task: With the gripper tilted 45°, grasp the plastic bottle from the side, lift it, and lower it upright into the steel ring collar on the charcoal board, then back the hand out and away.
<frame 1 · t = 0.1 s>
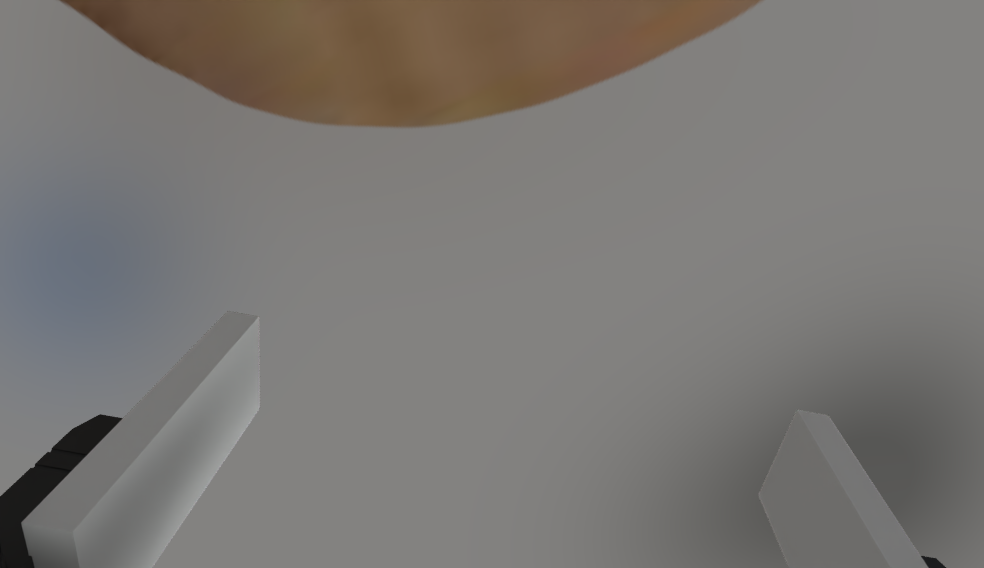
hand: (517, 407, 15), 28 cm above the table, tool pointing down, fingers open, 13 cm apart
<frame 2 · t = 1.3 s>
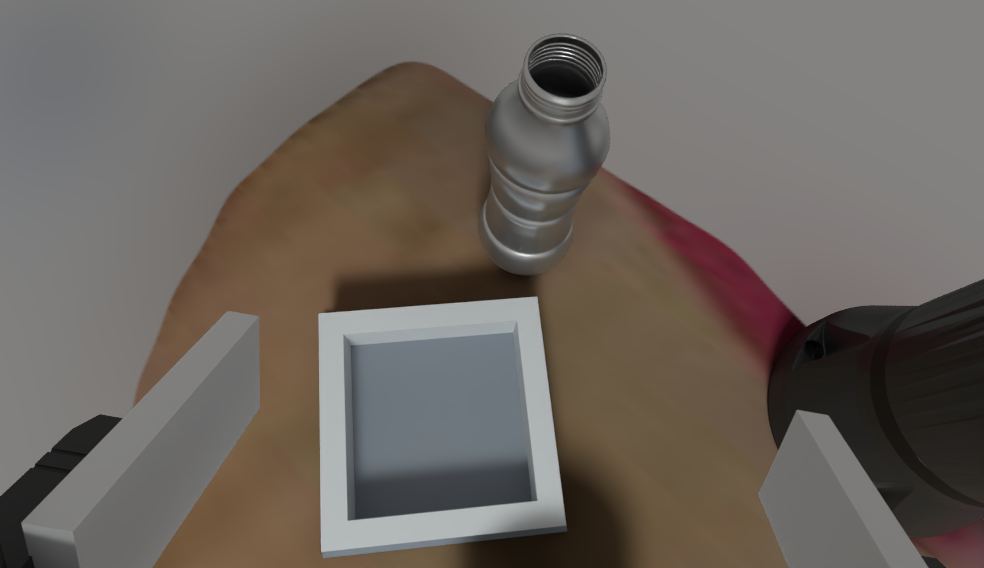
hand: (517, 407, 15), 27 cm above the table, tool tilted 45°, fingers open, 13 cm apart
plastic bottle: (521, 243, 47), on the table
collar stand: (438, 422, 42), on the table
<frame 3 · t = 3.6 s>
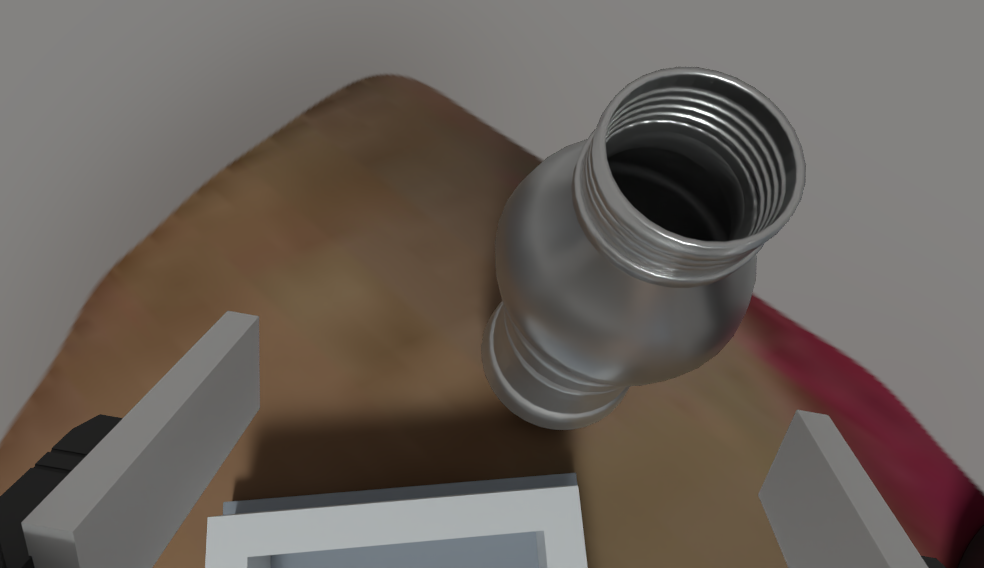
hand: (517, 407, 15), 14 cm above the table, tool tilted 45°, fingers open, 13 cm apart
plastic bottle: (548, 365, 30), on the table
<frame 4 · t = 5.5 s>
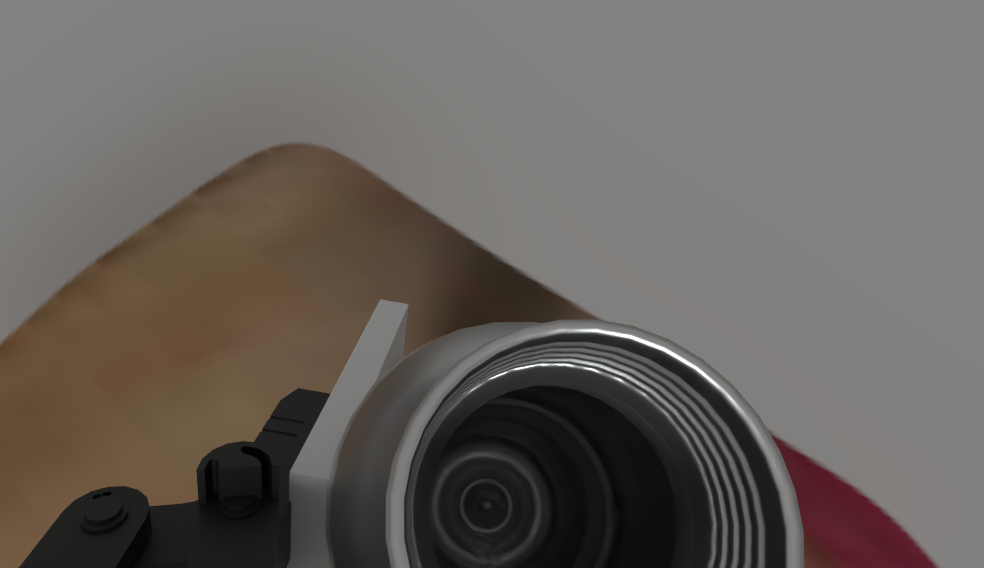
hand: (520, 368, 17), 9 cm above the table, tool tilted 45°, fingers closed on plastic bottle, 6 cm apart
plastic bottle: (484, 504, 25), on the table, touching gripper
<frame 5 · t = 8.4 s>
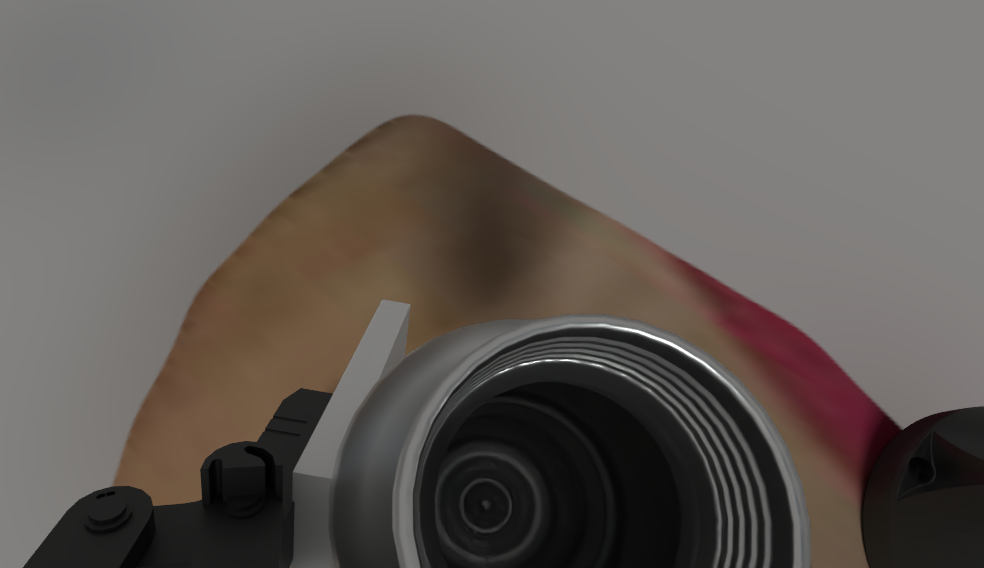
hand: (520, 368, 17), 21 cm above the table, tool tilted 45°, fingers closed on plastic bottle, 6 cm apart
plastic bottle: (484, 504, 25), point 12 cm above the table, touching gripper
when the fingers open (11 cm above the table, at t = 11.2 s): plastic bottle drops 1 cm, resting on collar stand.
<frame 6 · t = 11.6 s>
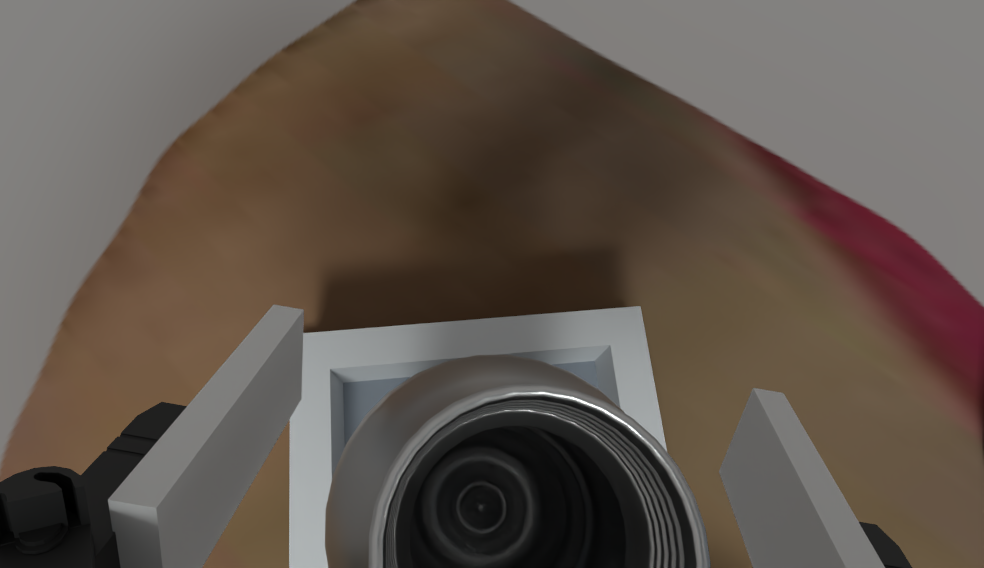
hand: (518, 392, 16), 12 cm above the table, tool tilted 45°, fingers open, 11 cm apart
plastic bottle: (479, 506, 26), point 1 cm above the table, touching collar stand
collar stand: (481, 504, 27), on the table
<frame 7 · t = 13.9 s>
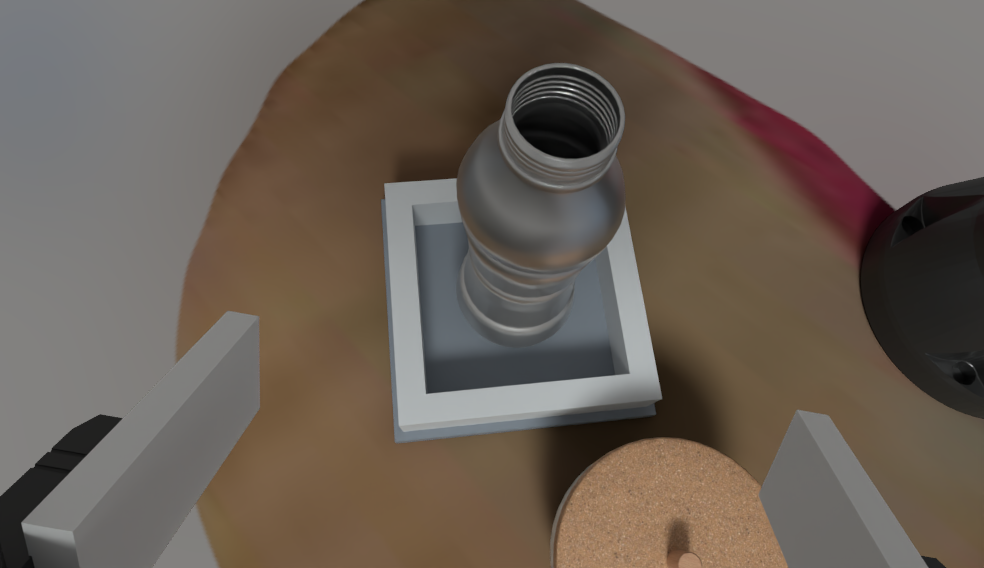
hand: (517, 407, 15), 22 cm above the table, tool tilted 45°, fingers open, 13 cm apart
plastic bottle: (510, 304, 38), point 1 cm above the table, touching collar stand
lidded jar: (629, 548, 35), on the table
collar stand: (511, 306, 39), on the table
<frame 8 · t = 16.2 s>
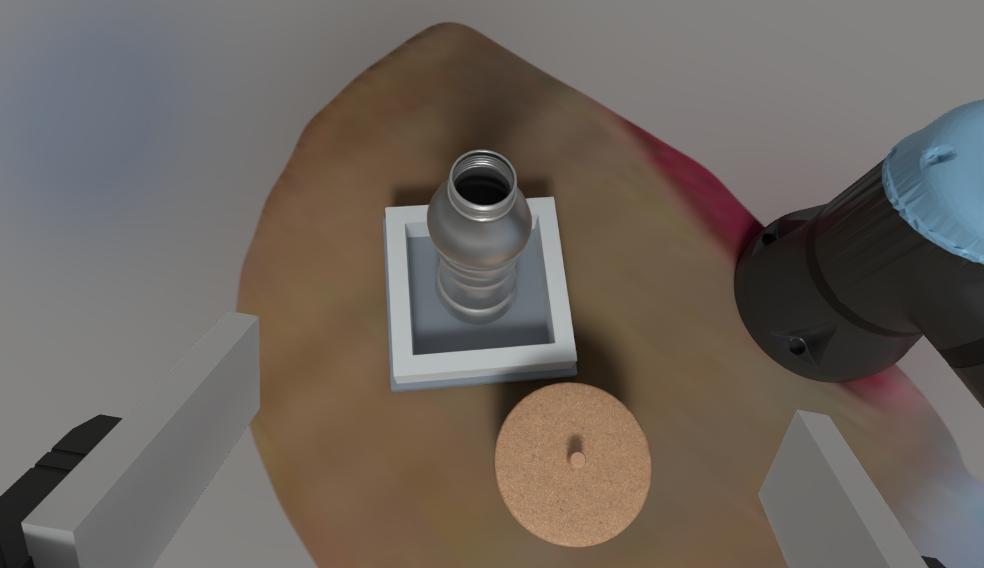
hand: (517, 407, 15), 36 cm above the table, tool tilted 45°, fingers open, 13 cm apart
plastic bottle: (475, 294, 53), point 1 cm above the table, touching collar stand
lidded jar: (556, 467, 50), on the table
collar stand: (476, 297, 54), on the table
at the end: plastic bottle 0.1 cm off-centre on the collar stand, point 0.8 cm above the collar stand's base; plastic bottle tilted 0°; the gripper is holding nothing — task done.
